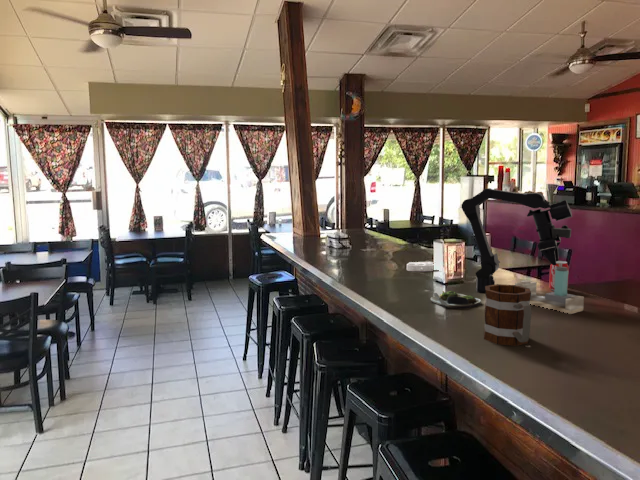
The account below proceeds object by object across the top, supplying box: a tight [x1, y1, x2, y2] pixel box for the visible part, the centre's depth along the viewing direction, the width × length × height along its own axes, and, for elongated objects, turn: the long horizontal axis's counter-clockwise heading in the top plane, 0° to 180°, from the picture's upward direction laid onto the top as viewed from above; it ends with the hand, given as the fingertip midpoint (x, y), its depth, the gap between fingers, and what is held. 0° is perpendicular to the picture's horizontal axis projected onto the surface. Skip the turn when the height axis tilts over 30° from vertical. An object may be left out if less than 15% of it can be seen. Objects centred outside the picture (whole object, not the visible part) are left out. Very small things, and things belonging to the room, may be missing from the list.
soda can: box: [548, 260, 570, 292], centre depth 206 cm, size 7×7×12 cm
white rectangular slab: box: [406, 261, 435, 272], centre depth 255 cm, size 3×18×15 cm
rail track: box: [514, 280, 585, 315], centre depth 183 cm, size 22×8×7 cm, turn 33°
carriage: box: [544, 267, 577, 304], centre depth 178 cm, size 8×6×12 cm
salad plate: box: [430, 290, 482, 310], centre depth 191 cm, size 19×18×5 cm
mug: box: [483, 283, 532, 347], centre depth 145 cm, size 20×14×15 cm
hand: (556, 263), depth 192 cm, fingers open, 9 cm apart
